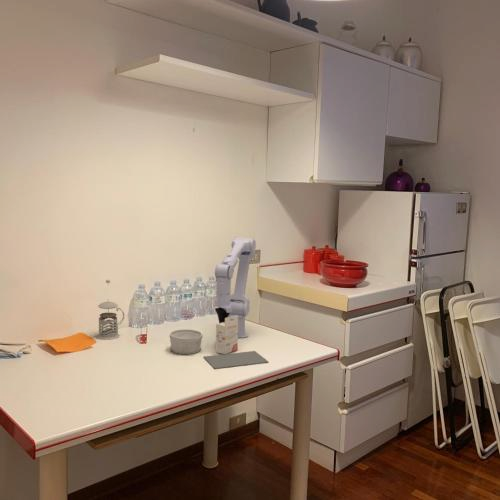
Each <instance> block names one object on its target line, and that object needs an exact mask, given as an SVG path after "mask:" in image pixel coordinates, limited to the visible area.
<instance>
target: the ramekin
mask: <svg viewBox="0 0 500 500" xmlns="http://www.w3.org/2000/svg"><path fill="white" fill-rule="evenodd" d="M169 340H170V348H171V351H172V352H174V353H175V354H179V355H194V354H196V353H199V351H200V350H201V346H202V340H203V332H201V331H200V330H195V329H189V328H187V329H186V328H183V329H182V328H181V329H175V330H172V331H170V332H169Z"/></svg>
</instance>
